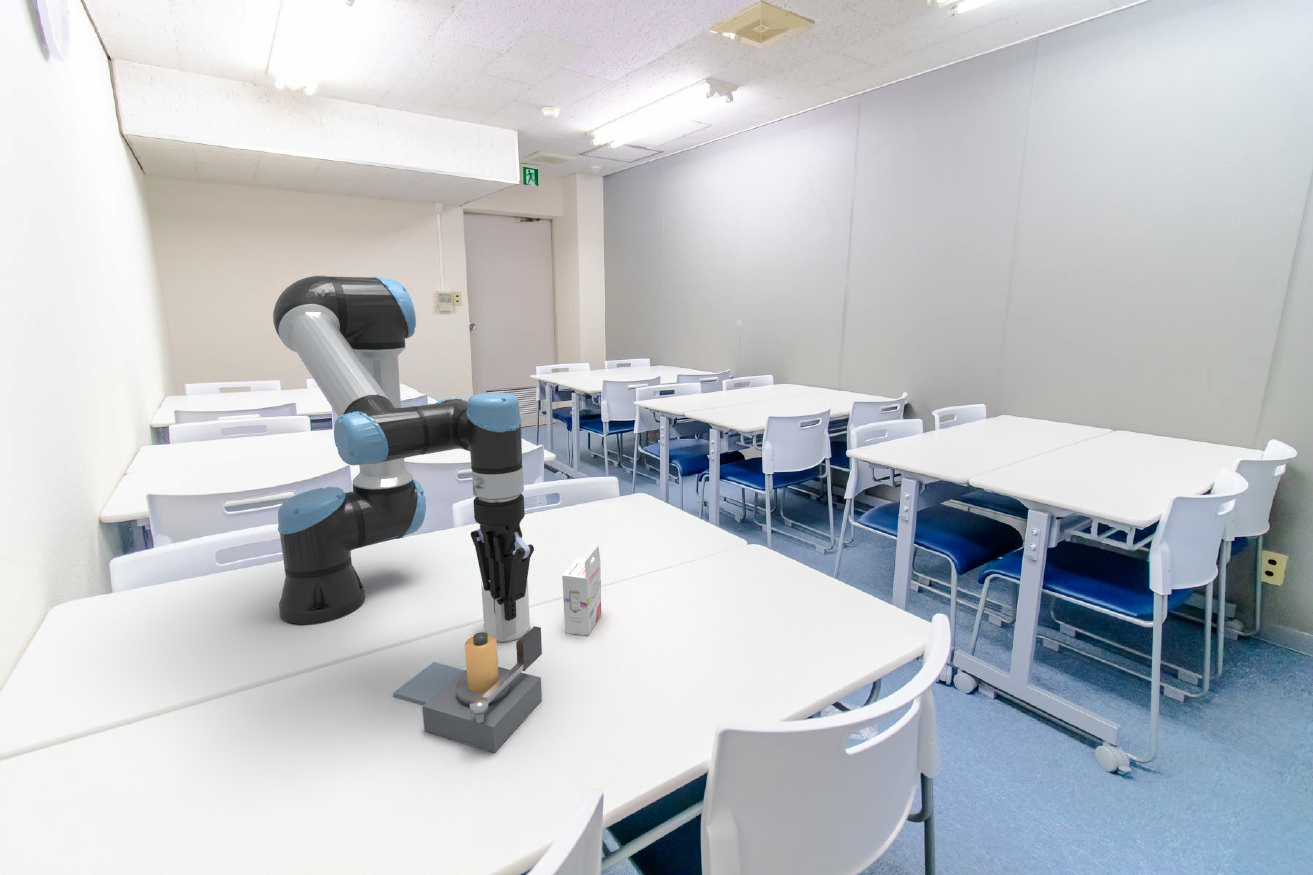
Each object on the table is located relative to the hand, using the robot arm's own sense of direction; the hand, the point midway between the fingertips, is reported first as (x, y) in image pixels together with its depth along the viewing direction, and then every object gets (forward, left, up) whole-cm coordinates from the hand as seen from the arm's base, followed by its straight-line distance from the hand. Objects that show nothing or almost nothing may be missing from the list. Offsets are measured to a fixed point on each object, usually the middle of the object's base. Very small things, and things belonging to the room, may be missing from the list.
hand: (506, 635), depth 97 cm
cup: (-10, +14, -8) cm, 18 cm away
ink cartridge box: (+3, +20, -8) cm, 21 cm away
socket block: (+2, -9, -8) cm, 12 cm away
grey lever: (+6, -8, -2) cm, 10 cm away
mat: (-9, -6, -8) cm, 13 cm away
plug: (+2, -9, -8) cm, 12 cm away
